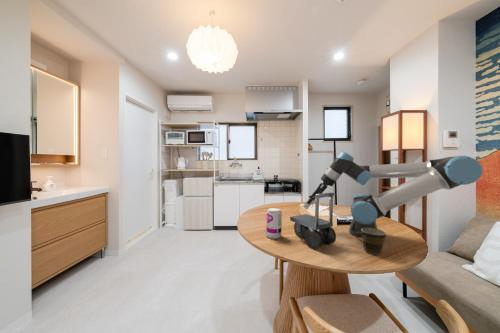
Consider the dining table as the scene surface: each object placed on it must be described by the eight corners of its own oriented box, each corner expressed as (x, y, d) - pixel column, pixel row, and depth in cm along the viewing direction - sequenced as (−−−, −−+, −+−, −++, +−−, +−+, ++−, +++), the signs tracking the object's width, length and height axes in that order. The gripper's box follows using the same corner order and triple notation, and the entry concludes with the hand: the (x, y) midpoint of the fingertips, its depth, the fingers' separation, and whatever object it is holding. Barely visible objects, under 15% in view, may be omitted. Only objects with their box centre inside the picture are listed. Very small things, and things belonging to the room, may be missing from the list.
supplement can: (270, 240, 113) (271, 211, 112) (263, 234, 120) (264, 208, 120) (284, 238, 116) (284, 210, 115) (276, 233, 123) (276, 207, 123)
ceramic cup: (378, 248, 104) (379, 228, 103) (389, 258, 94) (390, 235, 93) (350, 247, 105) (351, 226, 105) (359, 256, 95) (359, 234, 95)
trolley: (287, 236, 118) (288, 188, 117) (303, 232, 124) (304, 187, 123) (318, 251, 99) (319, 195, 98) (335, 246, 105) (337, 193, 104)
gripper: (328, 172, 131) (308, 198, 137) (320, 174, 109) (296, 205, 116) (339, 179, 128) (317, 206, 135) (333, 183, 106) (308, 214, 113)
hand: (308, 205), depth 125 cm, fingers open, 13 cm apart
